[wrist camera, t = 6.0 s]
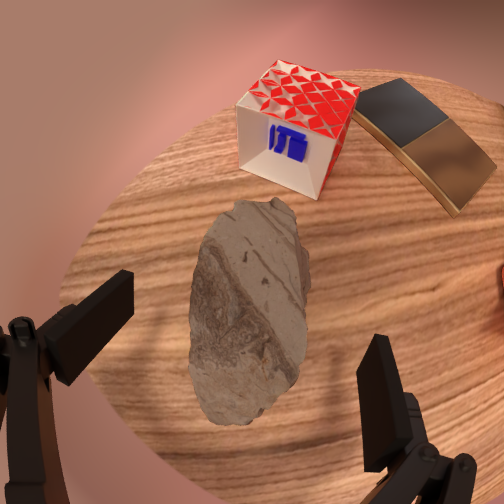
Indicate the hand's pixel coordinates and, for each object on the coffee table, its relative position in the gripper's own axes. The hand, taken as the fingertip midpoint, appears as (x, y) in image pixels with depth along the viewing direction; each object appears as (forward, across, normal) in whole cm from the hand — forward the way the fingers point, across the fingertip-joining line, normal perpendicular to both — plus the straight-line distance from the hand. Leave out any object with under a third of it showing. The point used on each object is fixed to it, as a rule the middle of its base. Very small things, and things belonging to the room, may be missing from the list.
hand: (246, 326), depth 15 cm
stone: (+6, 0, -4) cm, 8 cm away
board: (+24, +15, +14) cm, 31 cm away
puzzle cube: (+18, 0, +8) cm, 20 cm away
